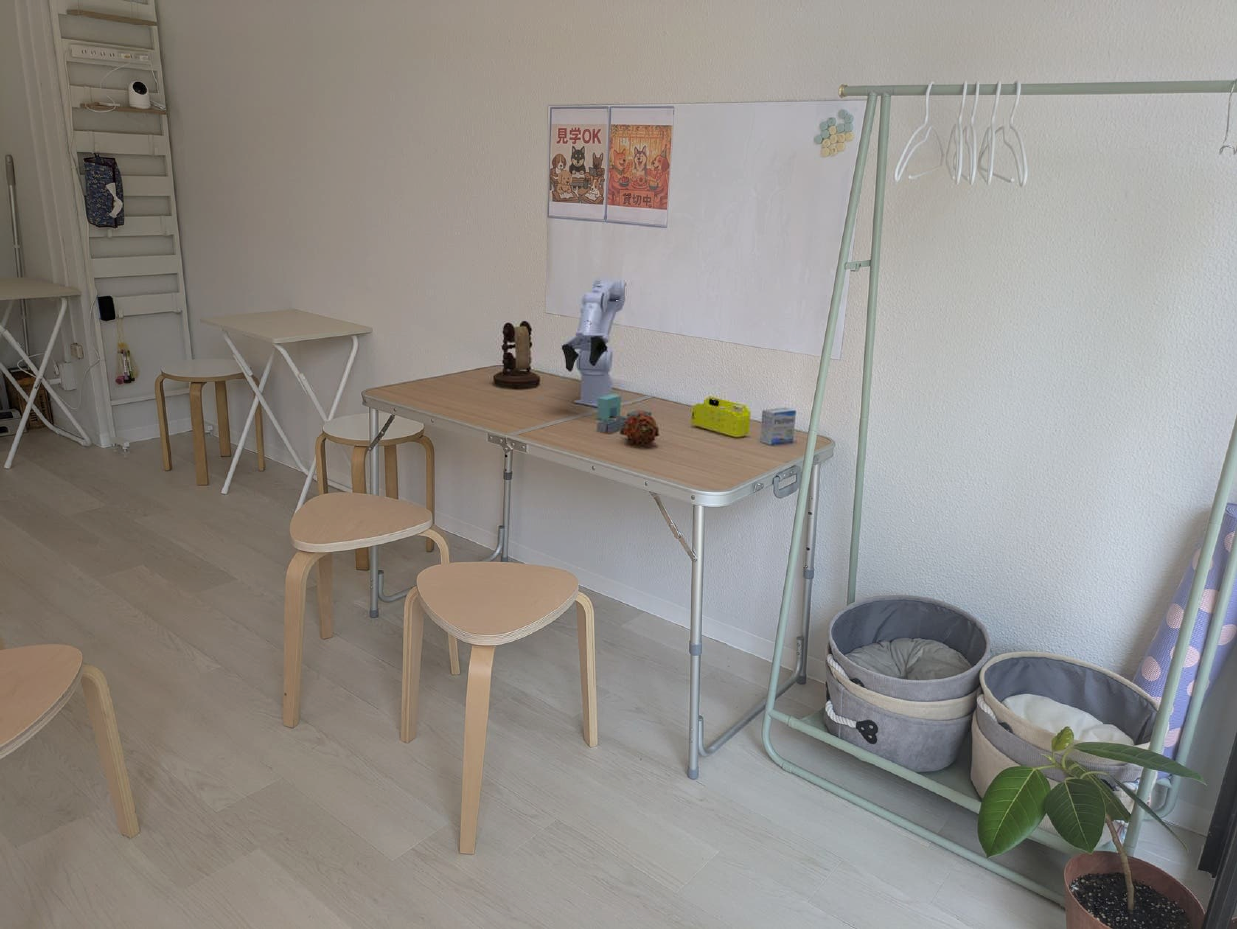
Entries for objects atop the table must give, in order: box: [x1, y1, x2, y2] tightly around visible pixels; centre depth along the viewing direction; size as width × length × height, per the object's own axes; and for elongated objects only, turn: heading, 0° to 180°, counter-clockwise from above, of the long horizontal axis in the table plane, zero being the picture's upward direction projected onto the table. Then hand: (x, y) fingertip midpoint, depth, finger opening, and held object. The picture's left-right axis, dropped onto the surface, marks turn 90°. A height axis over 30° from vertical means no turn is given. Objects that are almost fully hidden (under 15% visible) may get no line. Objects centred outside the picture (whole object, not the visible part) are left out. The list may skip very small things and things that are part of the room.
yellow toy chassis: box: [690, 395, 751, 438], centre depth 246 cm, size 16×6×8 cm, turn 44°
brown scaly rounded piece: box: [619, 413, 660, 446], centre depth 232 cm, size 8×8×12 cm
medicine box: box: [759, 407, 797, 446], centre depth 239 cm, size 8×4×9 cm, turn 122°
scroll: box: [492, 320, 541, 390], centre depth 289 cm, size 15×15×20 cm
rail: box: [596, 409, 652, 435], centre depth 249 cm, size 20×4×2 cm, turn 146°
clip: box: [596, 393, 622, 421], centre depth 256 cm, size 7×3×6 cm, turn 146°
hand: (580, 366), depth 249 cm, fingers open, 7 cm apart
